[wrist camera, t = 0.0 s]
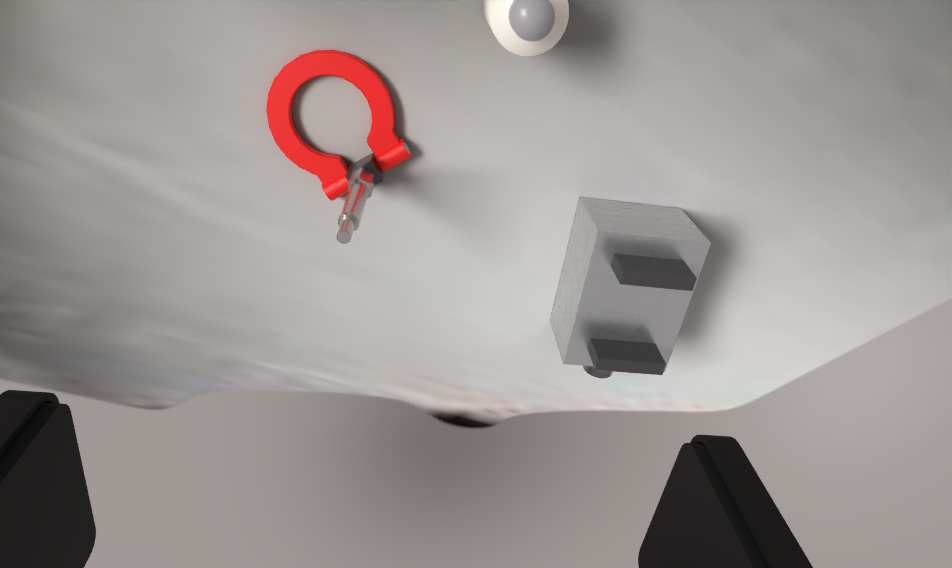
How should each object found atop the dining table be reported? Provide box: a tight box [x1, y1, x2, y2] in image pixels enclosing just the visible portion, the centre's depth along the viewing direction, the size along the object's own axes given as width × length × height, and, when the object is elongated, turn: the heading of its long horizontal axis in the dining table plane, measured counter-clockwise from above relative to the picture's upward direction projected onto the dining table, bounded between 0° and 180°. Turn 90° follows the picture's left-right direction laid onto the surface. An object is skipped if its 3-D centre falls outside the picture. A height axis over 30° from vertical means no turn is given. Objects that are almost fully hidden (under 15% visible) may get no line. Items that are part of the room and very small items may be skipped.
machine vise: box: [550, 197, 711, 378], centre depth 48 cm, size 13×8×8 cm, turn 172°
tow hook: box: [267, 50, 412, 244], centre depth 38 cm, size 8×13×9 cm
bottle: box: [482, 0, 569, 56], centre depth 38 cm, size 4×4×7 cm
